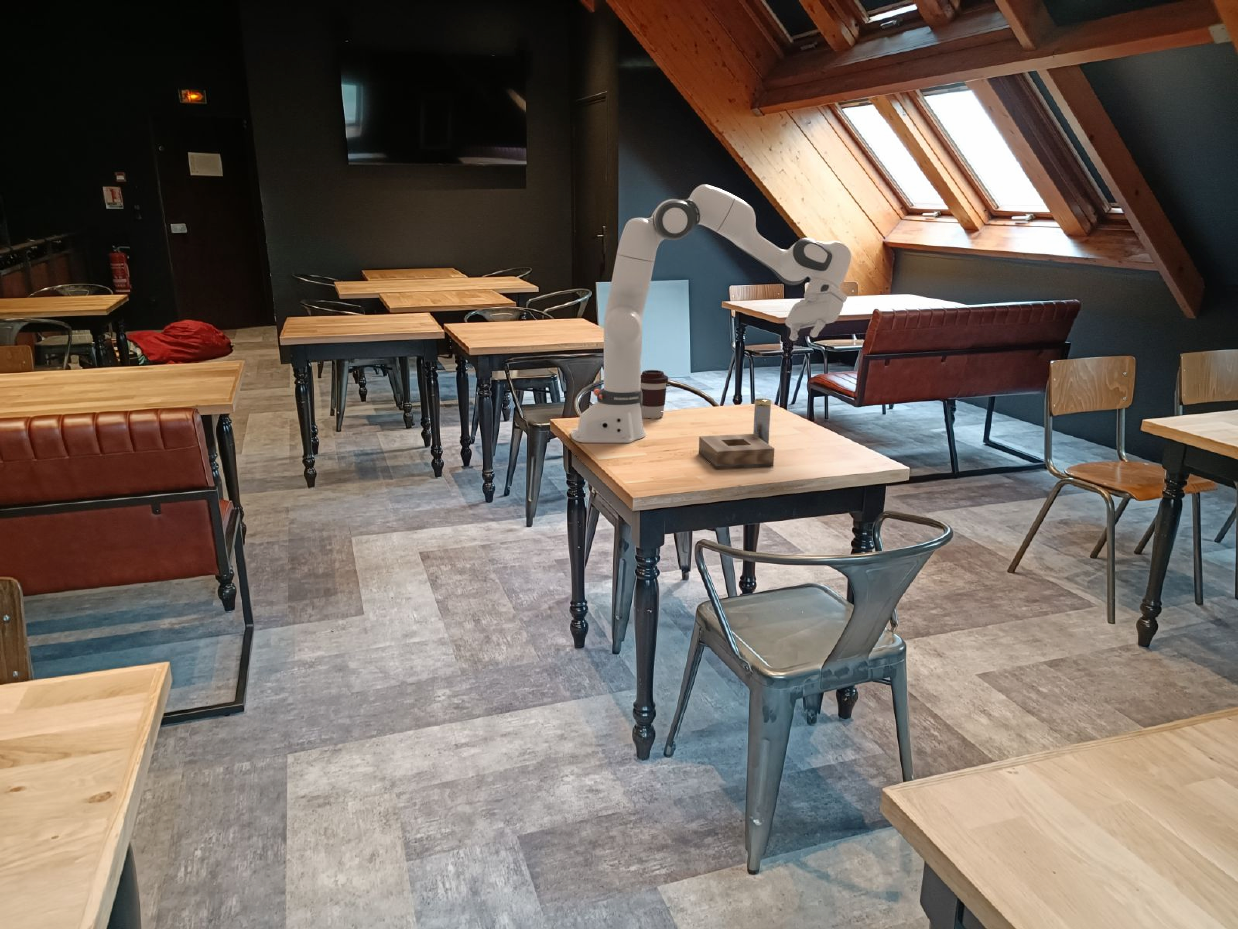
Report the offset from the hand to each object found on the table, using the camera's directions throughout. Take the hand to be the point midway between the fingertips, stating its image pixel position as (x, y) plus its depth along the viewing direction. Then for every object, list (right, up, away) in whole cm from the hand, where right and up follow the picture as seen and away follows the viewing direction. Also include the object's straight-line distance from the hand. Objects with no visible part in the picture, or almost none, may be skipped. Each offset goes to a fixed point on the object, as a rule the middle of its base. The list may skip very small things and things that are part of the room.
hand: (802, 337), depth 252 cm
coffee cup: (-41, -20, +41) cm, 61 cm away
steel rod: (-11, -31, +5) cm, 33 cm away
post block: (-20, -35, -8) cm, 41 cm away
